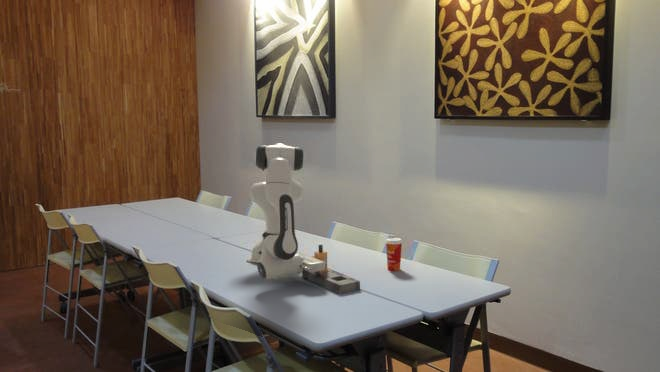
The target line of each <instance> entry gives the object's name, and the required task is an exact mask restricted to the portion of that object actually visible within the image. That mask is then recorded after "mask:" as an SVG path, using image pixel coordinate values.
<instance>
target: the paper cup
mask: <svg viewBox="0 0 660 372" xmlns="http://www.w3.org/2000/svg"><path fill="white" fill-rule="evenodd" d="M402 244H403V241H402V239H401V238H398V237H389V238H386V239H385V246H386V247H385V248H386V259H387V260H386V262H387V264H386V265H387V271H391V272H398V271H400V270H401V258H402Z"/></svg>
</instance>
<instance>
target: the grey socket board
mask: <svg viewBox="0 0 660 372" xmlns="http://www.w3.org/2000/svg"><path fill="white" fill-rule="evenodd" d="M301 275H302V276H301V277H303V278H304V279H307V280H308V281H311V282H313V283H316V284H318V285H319V286H322V287H324V288H326V289H328V290H330V291H333V292H335V293H337V294H339V295H341V294H345V293H350V292H355V291H359V290H361V280H358V279H356V278H353V277H350V276H349V275H346V274H344V273H341V272H339V271H336V270H333V269H332V268H328V267H327V272H324V273H317V272H308V271H306V270H303V271H302V273H301Z"/></svg>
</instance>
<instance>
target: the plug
mask: <svg viewBox="0 0 660 372" xmlns="http://www.w3.org/2000/svg"><path fill="white" fill-rule="evenodd" d="M323 246H324V245H323V244H318V250H316V251H314V258H316V259H318V260H322V259H326V260H327V261H328V252H327V251H324V250H323V248H324V247H323ZM327 268H328V262H327V263H325V269H324V270H323V271H316V272H317V273H324V272H327Z"/></svg>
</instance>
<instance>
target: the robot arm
mask: <svg viewBox="0 0 660 372" xmlns="http://www.w3.org/2000/svg"><path fill="white" fill-rule="evenodd" d="M253 161H254V163H255V166H256V167H257V168H258V169H261V170H262V171H263V172H266V174H265V175H266V176H265V181H260V182H255V183H253V184H252V186H251V187H250V190H249V197H250V199H251V201H252V202H253V203H254V204H255V205H257V206H258V207H259V208H260V209H261V210H262V212H263V214H264V218H265V225H266V226H265V227H266V229H265V230H264V232H263V233H262V234H261V237H262V239H261V240H260V241H258V243H256V244H255V245H254V246H253V247H252V249H251V255H249V256H248V257H247V258H246V261H247V262H249V263H257V266H256V267H257V271H258V273H259V275H260V276H261V277H262V278H263V279H265V280H275V279H281V278H283V277H291V276H297V275H302V271H303V270H306V271H308V272H316V271H323V270H324V269H325V263H327V264H328V259H327V260H326V259H322V260H318V259H316V258H314V256H313V255H312V256H311V255H308V254H305V253H302V252H298V250H299V244H298V243H299V242H298V239H297V236H296V230H295V229H296V228H295V211H294V210H295V209H294V203H298V202H300V201H301V199H302V198H303V195H304V187H303V185H302V184H301V183H300V182H299V181H297V180H295V179H294V178H293V177H292V175H293V173H292V171H294V172H295V171H300V170H302V168H303V166H304V164H305V161H306V156H305V152H304V150H303V148H302V147H299V146H290V145H286V144H284V143H282V142H281V143H280V142H278V143H274V144H273V145H266V144H263V145H258V146H257V148H256V150H255V151H254V155H253ZM265 170H266V171H265Z"/></svg>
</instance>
